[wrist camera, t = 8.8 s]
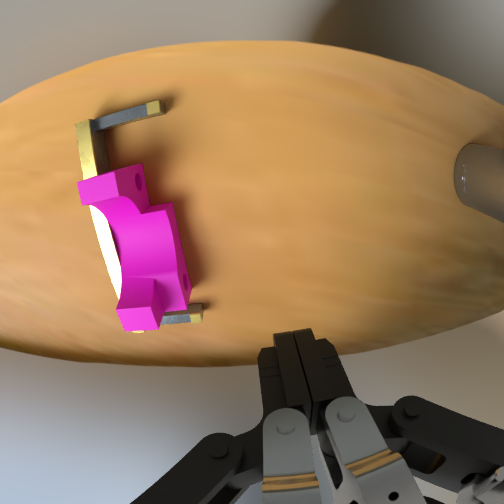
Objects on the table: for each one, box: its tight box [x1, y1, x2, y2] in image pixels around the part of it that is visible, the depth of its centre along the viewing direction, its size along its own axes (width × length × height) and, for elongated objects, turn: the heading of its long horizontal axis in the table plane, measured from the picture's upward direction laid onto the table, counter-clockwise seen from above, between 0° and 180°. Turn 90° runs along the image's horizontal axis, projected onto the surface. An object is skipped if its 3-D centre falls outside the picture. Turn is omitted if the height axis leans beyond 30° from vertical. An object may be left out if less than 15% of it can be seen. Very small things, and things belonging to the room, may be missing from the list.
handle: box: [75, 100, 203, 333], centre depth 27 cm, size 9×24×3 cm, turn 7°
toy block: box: [77, 163, 192, 331], centre depth 25 cm, size 15×6×8 cm, turn 7°
